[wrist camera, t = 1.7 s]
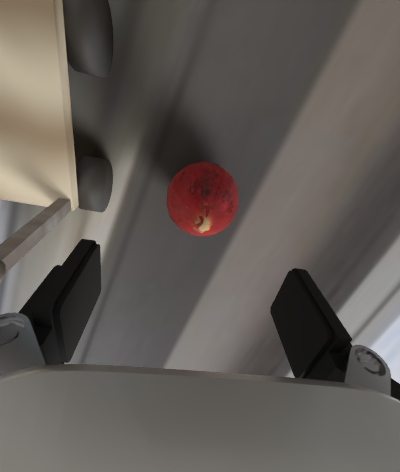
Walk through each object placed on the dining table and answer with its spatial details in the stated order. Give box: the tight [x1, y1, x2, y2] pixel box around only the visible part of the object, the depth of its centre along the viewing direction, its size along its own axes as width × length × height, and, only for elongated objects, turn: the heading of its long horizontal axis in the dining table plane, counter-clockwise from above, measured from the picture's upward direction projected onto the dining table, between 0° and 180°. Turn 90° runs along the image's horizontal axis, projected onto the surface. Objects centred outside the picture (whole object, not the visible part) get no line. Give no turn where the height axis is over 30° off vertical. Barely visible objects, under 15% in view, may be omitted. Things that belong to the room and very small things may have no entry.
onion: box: [167, 161, 238, 237], centre depth 19 cm, size 6×6×8 cm
